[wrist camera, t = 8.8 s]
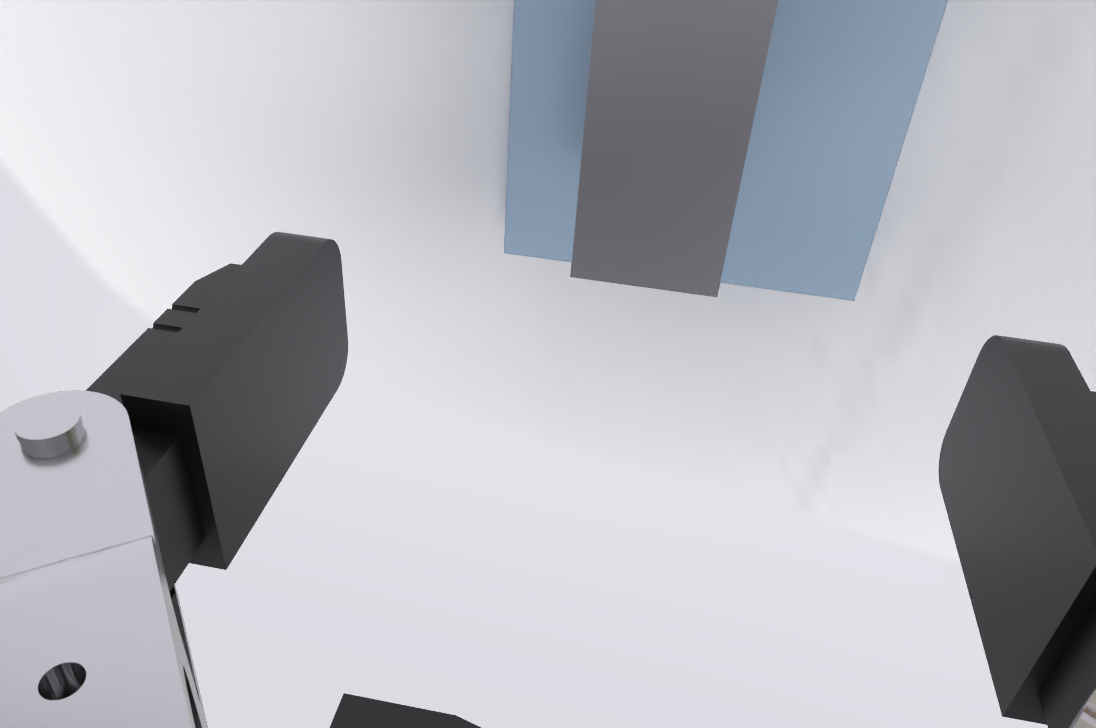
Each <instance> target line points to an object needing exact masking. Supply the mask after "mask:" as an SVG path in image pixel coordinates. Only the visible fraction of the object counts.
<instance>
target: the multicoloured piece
mask: <svg viewBox="0 0 1096 728" xmlns="http://www.w3.org/2000/svg"><path fill="white" fill-rule="evenodd" d="M947 1H948V0H514V21H513V45H512V70H511V94H510V119H509V143H508V167H507V192H506V216H505V241H504V253H508V254H515V255H523V256H530V257H537V258H545V259H552V260H559V261H567V262H572V265H571V275H570V277H575V278H582V279H590V280H597V281H604V282H611V283H618V284H626V285H633V286H640V287H647V288H655V289H662V290H669V291H676V292H684V293H691V294H698V295H705V296H713V297H717V295H718V290H719V286H720V283H728V284H735V285H742V286H749V287H757V288H764V289H771V290H779V291H786V292H793V293H801V294H808V295H815V296H823V297H830V298H837V299H845V300H852V301H854V299H855V296H856V293H857V290H858V287H859V283H860V280H861V277H862V274H863V271H864V267H865V264H866V261H867V258H868V255H869V251H870V248H871V245H872V242H873V239H874V235H875V232H876V229H877V226H878V223H879V219H880V216H881V213H882V210H883V206H884V203H885V200H886V197H887V194H888V190H889V187H890V184H891V181H892V178H893V174H894V171H895V168H896V165H897V162H898V158H899V155H900V152H901V149H902V146H903V142H904V139H905V136H906V133H907V130H908V126H909V123H910V120H911V117H912V114H913V110H914V107H915V104H916V101H917V98H918V94H919V91H920V88H921V85H922V82H923V78H924V75H925V72H926V69H927V66H928V62H929V59H930V56H931V53H932V50H933V46H934V43H935V40H936V37H937V33H938V30H939V27H940V24H941V21H942V17H943V14H944V11H945V8H946V5H947Z"/></svg>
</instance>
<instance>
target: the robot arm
mask: <svg viewBox="0 0 1096 728" xmlns="http://www.w3.org/2000/svg"><path fill="white" fill-rule="evenodd" d="M347 355H348V335H347V323H346V312H345V300H344V288H343V276H342V264H341V255H340V251H339V248H338V245H337V244H336V242H335V241H334V240H331V239H325V238H318V237H311V236H303V235H296V234H289V233H282V232H274V233H272V234H271V235H270V236H269V237H268V238H267V239H266V240H265V241H264V242H263V243H262V244H261V245H260V246H259V247H258V248H257V250H256V251H255V252H254V253H253V254H252V255H251V256H250V257H249V258H248V259H247V260H246V261H245V262H244V263H243V264H242V265H237V264H229V265H227V266H225V267H223V268H221V269H219V270H217V271H215V272H213V273H211V274H209V275H207V276H205V277H203V278H201V279H199V280H197V281H195V282H194V283H193V284H192V285H191V286H190V287H189V288H188V289H187V290H186V291H185V292H184V293H183V294H182V295H181V296H180V297H179V298H178V299H177V300H176V301H175V302H174V303H173V304H172V309H167V310H166V311H165V312H164V313H163V314H162V315H161V316H160V317H159V318H158V319H157V320H156V321H155V322H154V323H153V328H152V329H151V328H148V329H147V330H146V331H145V332H144V333H143V334H142V335H141V336H140V337H139V338H138V339H137V340H136V341H135V342H134V343H133V344H132V345H131V346H130V347H129V348H128V349H127V350H126V351H125V352H124V353H123V354H122V355H121V356H120V357H119V358H118V359H117V360H116V361H115V362H114V363H113V364H112V365H111V366H110V367H109V368H108V369H107V370H106V371H105V372H104V373H103V374H102V375H101V376H100V377H99V378H98V379H97V380H96V381H95V382H94V383H93V384H92V385H91V386H90V387H89V388H88V389H87V390H86V391H76V390H73V391H60V392H55V393H48V394H44V395H40V396H36V397H33V398H30V399H27V400H24V401H22V402H19V403H17V404H15V405H13V406H11V407H9V408H7V409H5V410H4V411H2V412H0V728H208V726H207V721H206V717H205V713H204V708H203V704H202V699H201V695H200V691H199V686H198V682H197V677H196V673H195V668H194V664H193V660H192V655H191V651H190V646H189V642H188V637H187V633H186V629H185V624H184V620H183V616H182V611H181V607H180V602H179V598H178V594H177V590H176V587H175V583H176V581H177V580H178V578H179V577H180V575H181V574H182V572H183V571H184V569H185V568H186V566H187V565H188V563H192V564H198V565H203V566H208V567H214V568H219V569H225V570H226V569H227V568H228V566H229V564H230V563H231V561H232V560H233V558H234V556H235V555H236V553H237V551H238V550H239V548H240V547H241V545H242V543H243V542H244V540H245V538H246V537H247V535H248V533H249V532H250V530H251V529H252V527H253V526H254V524H255V522H256V521H257V519H258V517H259V516H260V514H261V513H262V511H263V509H264V507H265V506H266V504H267V503H268V501H269V500H270V498H271V496H272V495H273V493H274V491H275V490H276V488H277V487H278V485H279V483H280V482H281V480H282V479H283V477H284V475H285V474H286V472H287V470H288V469H289V467H290V466H291V464H292V462H293V461H294V459H295V457H296V456H297V454H298V452H299V451H300V449H301V448H302V446H303V444H304V443H305V441H306V439H307V438H308V436H309V435H310V433H311V431H312V430H313V428H314V427H315V425H316V423H317V422H318V420H319V418H320V417H321V415H322V414H323V412H324V410H325V409H326V407H327V406H328V404H329V402H330V401H331V399H332V397H333V396H334V394H335V393H336V391H337V389H338V387H339V386H340V383H341V381H342V378H343V375H344V371H345V367H346V362H347ZM939 483H940V488H941V492H942V495H943V499H944V503H945V506H946V510H947V514H948V517H949V521H950V525H951V528H952V532H953V536H954V540H955V543H956V547H957V551H958V554H959V558H960V562H961V565H962V569H963V573H964V577H965V580H966V584H967V588H968V591H969V595H970V599H971V602H972V606H973V610H974V613H975V617H976V621H977V624H978V628H979V632H980V636H981V639H982V643H983V647H984V650H985V654H986V658H987V661H988V665H989V669H990V673H991V676H992V680H993V684H994V687H995V691H996V695H997V698H998V702H999V705H1000V709H1001V713H1002V716H1003V717H1009V718H1014V719H1019V720H1025V721H1030V722H1036V723H1041V724H1047V725H1048V728H1096V392H1092V391H1090V389H1089V388H1088V386H1087V384H1086V382H1085V380H1084V378H1083V377H1082V375H1081V373H1080V371H1079V369H1078V367H1077V365H1076V364H1075V362H1074V360H1073V358H1072V356H1071V354H1070V352H1069V351H1068V349H1067V348H1066V347H1065V346H1063V345H1060V344H1054V343H1047V342H1040V341H1033V340H1026V339H1019V338H1012V337H1005V336H998V335H996V336H992V337H991V338H989V339H988V340H987V341H986V343H985V344H984V346H983V347H982V349H981V351H980V353H979V356H978V358H977V360H976V363H975V365H974V367H973V370H972V372H971V375H970V377H969V379H968V382H967V384H966V386H965V389H964V391H963V393H962V396H961V398H960V401H959V403H958V405H957V408H956V410H955V412H954V415H953V417H952V420H951V422H950V424H949V427H948V429H947V431H946V434H945V437H944V440H943V443H942V447H941V452H940V459H939ZM330 728H481V727H479V726H476V725H474V724H472V723H470V722H468V721H466V720H464V719H462V718H460V717H458V716H456V715H450V714H445V713H441V712H436V711H430V710H425V709H420V708H415V707H410V706H405V705H400V704H395V703H389V702H385V701H380V700H374V699H370V698H365V697H360V696H354V695H349V694H343V697H342V699H341V702H340V704H339V706H338V709H337V711H336V714H335V716H334V719H333V721H332V723H331V726H330Z"/></svg>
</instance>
